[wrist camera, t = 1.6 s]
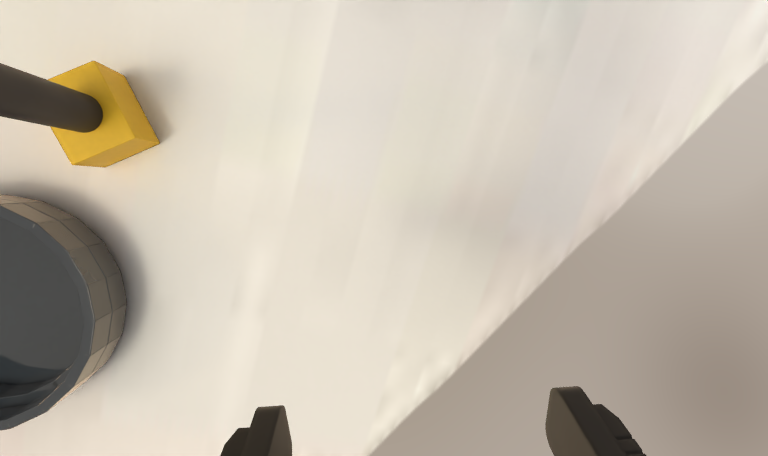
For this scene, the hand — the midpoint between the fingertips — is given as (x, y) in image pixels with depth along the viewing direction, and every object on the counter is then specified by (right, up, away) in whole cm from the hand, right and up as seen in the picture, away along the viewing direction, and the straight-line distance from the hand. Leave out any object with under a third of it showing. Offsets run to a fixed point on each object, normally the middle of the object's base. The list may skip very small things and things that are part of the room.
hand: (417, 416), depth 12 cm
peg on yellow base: (-23, +14, +20) cm, 34 cm away
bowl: (-32, 0, +21) cm, 38 cm away
